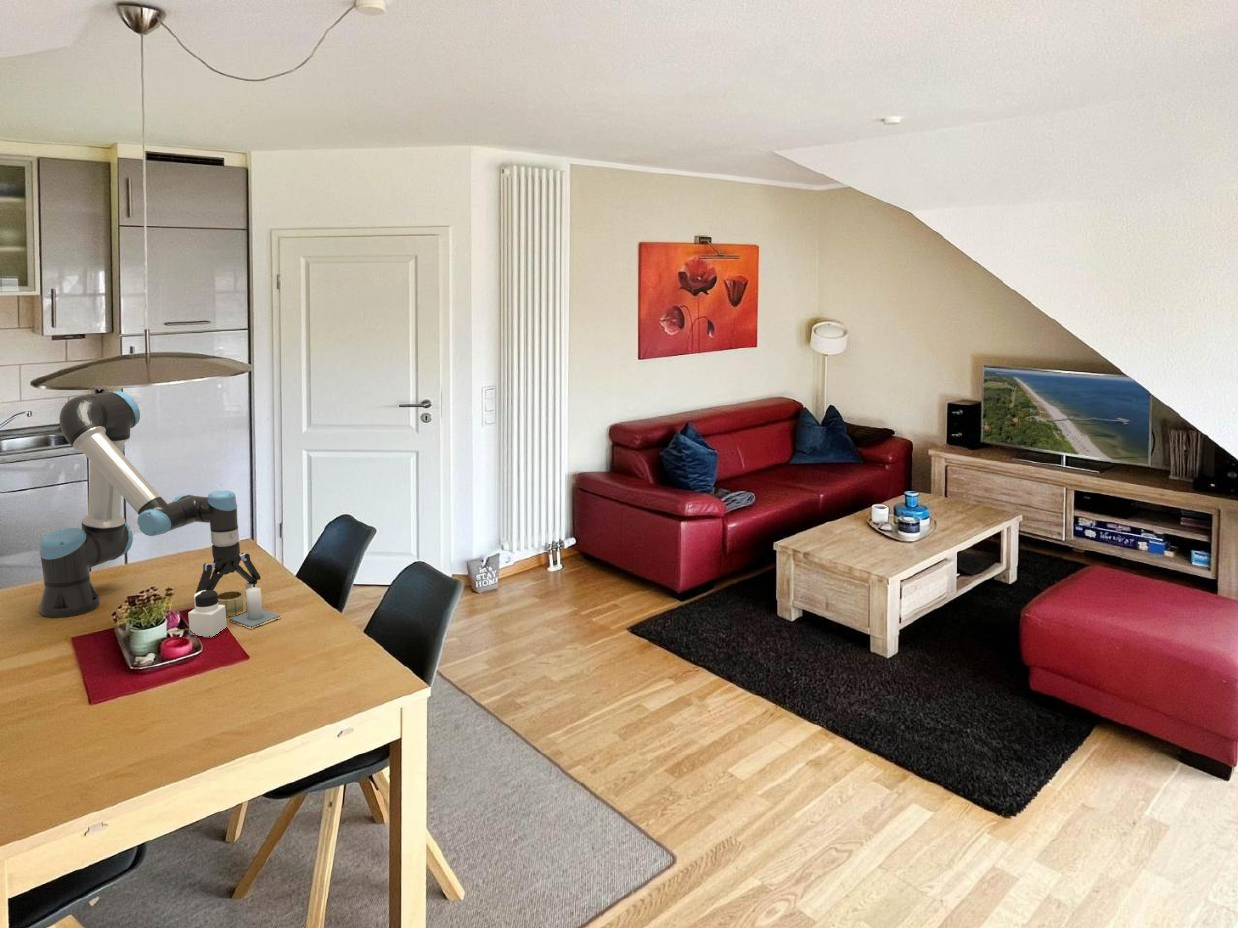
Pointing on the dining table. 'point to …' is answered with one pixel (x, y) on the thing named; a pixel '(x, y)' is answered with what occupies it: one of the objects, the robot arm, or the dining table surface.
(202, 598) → the medicine bottle
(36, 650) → the dining table surface
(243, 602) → the ring
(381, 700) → the dining table surface
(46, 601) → the robot arm
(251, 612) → the post stand
